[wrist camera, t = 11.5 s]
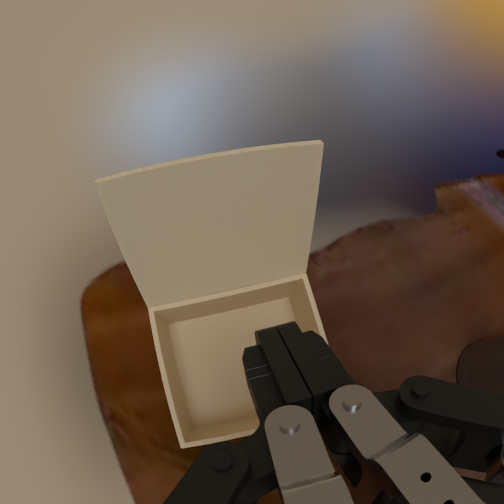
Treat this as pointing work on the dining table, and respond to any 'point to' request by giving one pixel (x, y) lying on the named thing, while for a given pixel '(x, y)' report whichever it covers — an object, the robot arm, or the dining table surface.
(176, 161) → the box lid
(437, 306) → the dining table surface
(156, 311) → the cardboard box
